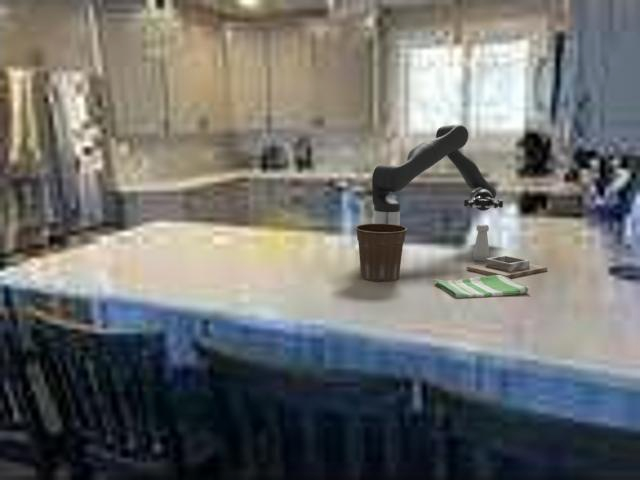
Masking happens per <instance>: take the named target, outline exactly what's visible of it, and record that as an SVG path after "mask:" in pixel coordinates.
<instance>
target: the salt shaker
mask: <svg viewBox="0 0 640 480" xmlns="http://www.w3.org/2000/svg"><path fill="white" fill-rule="evenodd" d="M476 231H477V234H476V239H475V244H474V248H473V250H472V251H473V252H472V255H473V258H474V260H475V261H476V260H478V261H477V262H484V263H485V259H487V258H490V255H491V254H490V247H489V238H488V232H489V231H490V227H489V225H488V224H485V223H479V224H477V225H476Z"/></svg>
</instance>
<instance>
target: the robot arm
mask: <svg viewBox="0 0 640 480" xmlns="http://www.w3.org/2000/svg"><path fill="white" fill-rule="evenodd" d="M468 140H469V132H468V129H467V127H466V126H464V125H462V124H459V123H458V124H449V125H444V126H440V127H439V128H438V129H437V130H436V134H435V138H433V139H430V140H426V141H424V142H422V143H420V144H418V145H417V146H414V148H412V149H411V150H410V151H409V153H408V155H407V158H406V160H407V161H405V162H404V163H401V164H399V165H389V164H387V165H386V164H379V165H377V166H376V167H375V168H374V169H373V172H372V176H371V192H372V194H371V197H372V204H373V224H393V225H400V220H401V203H400V202H399V201H397V200H396V199H394V198H393V197H392V196H391V193H397V192H400V191H402V190H403V189H404V188H405V187H407V186H408V185H409V184H410V183H411V182H412V181H413V180H414V179H415V178H417V177H419V175H421V174H422V173H424V172H425V171H426V170H429V169H430V168H432V167H433V166H434V165H435V164H437V163H438V162H440V161H441V160H443V159H444V158H445V157H447V158H448V159H449V160H450V161H451V163H452V164H453V165H454V166H455V167H456V168H457V169H456V170H458V171H459V173H460V175H461V176H462V178H463V180H464V181H465V183H466V185H467V187H468V188H470V189H472V190H471V192H470V193H469V197H465V198H464V199H463V200H464V201H463V206H464V207H470V208H476V209H477V210H479V211H482V212H484V211H488V210H489V209H498V208H500V209H501V208H504V200H503V198H499V199H498V198H497V200H496V197H497V191H496V189H495V187H494V186H493V184H491V183H489V182H488V181H487V179H485V178H484V175H482V172H481V171H480V169H479V167H478V165H477V164H476V163H475V162H474V161H473V160H471V158H469V157H468V156H466V155H465V154H464V153H463V152H462V151H461V150H460V149H462V148H463V147H464V146H465V145H467V142H468ZM400 226H401V225H400Z"/></svg>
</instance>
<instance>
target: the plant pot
mask: <svg viewBox="0 0 640 480" xmlns="http://www.w3.org/2000/svg"><path fill="white" fill-rule="evenodd" d="M354 229H355V231H356V239H357V241H358V254H359V268H360V269H359V272H360V277H361V279H364V280H366V281H369V282H379V283H380V282H381V281H384V282H394V281H397V280H399V279H400V272H401V263H402V255H403V249H404V247H403V246H404V242H405V239H406V233H407V231H408V227H406V226H404V225H393V224H374V223H364V224H357V225H356V226H355V227H354Z"/></svg>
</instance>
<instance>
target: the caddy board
mask: <svg viewBox="0 0 640 480" xmlns="http://www.w3.org/2000/svg"><path fill="white" fill-rule="evenodd" d="M530 262H531V261H530V260H529V259H524V258H519V257H513V256H509V255H500V256H494V257H493V256H492V257H488V258H487V259H485V261H484V263H479V264H474V265H469V266H466V270H467V269H468V270H471V271H470V272H473V271H475V272H474V273H477V272H478V274H481V273H482V274H481V275H485V276H493V275H502V276H505V277H506V278H509V279H512V278H513V279H514V278H517V277H518V278H519V277H522V276H528V275H533V274H538V273H542V272H543V273H544V272H547V271H548V266H544V265H538V264H533V263H530ZM468 270H467V271H468Z"/></svg>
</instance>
